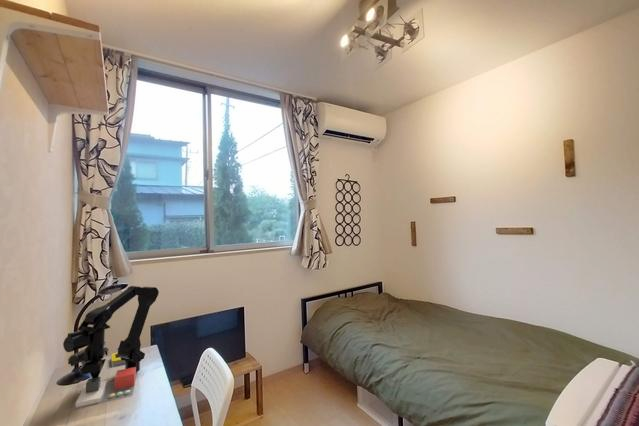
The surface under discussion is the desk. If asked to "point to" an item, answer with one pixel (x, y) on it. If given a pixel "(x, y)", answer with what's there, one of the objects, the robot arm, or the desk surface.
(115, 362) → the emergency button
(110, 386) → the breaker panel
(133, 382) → the red block
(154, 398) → the desk surface
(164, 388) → the desk surface
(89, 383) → the grey cube
